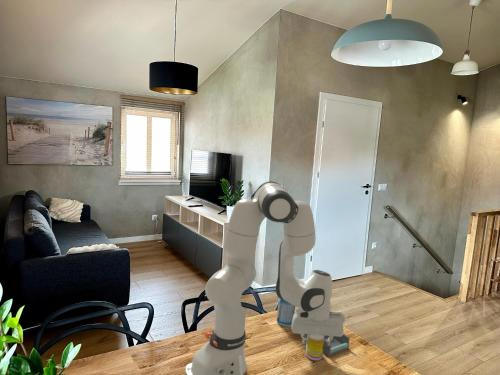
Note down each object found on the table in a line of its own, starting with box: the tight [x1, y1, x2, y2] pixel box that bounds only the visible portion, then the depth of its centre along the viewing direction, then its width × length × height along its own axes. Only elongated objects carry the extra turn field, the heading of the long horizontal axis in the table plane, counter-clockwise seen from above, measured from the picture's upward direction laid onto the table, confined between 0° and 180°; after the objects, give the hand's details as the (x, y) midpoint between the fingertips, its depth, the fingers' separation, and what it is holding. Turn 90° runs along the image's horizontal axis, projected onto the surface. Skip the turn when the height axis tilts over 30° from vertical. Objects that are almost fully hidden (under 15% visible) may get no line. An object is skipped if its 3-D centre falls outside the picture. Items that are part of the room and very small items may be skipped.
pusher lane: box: [299, 333, 350, 357], centre depth 146 cm, size 12×18×7 cm, turn 33°
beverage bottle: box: [276, 297, 296, 327], centre depth 159 cm, size 8×8×20 cm
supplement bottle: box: [305, 329, 324, 361], centre depth 135 cm, size 7×7×13 cm
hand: (315, 343), depth 134 cm, fingers open, 8 cm apart
